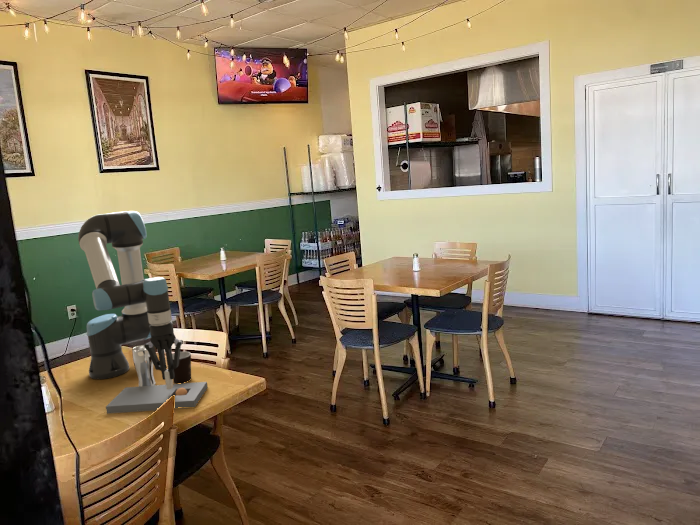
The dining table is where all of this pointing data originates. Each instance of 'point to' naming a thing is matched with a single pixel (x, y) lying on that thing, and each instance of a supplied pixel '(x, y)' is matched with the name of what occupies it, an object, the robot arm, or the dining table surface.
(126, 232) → the robot arm
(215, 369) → the dining table surface
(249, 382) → the dining table surface
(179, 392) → the ball
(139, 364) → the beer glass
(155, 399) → the board
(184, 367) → the coffee mug
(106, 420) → the dining table surface
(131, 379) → the dining table surface
